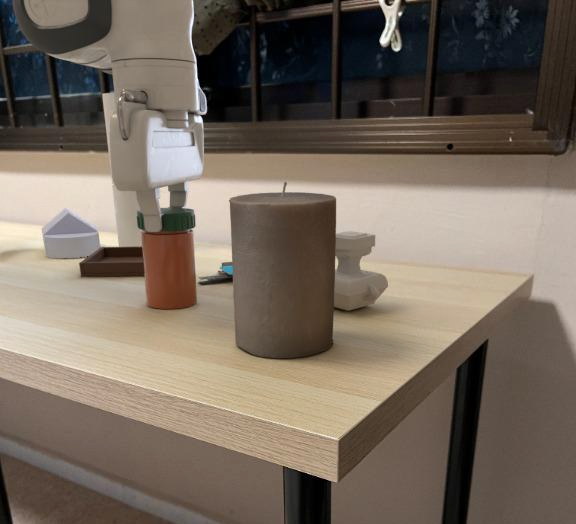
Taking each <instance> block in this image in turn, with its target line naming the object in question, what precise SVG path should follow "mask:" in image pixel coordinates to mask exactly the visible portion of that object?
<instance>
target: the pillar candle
mask: <svg viewBox="0 0 576 524" xmlns="http://www.w3.org/2000/svg"><path fill="white" fill-rule="evenodd" d="M287 185H288V183H287V181H284V182H283V186H282V192H279V191H278V192H259V193H249V194H248V193H247V194H241V195H236V196H232V197H230V198H229V199H228V202H229V216H230V217H229V218H230V238H231V262H232V268H233V282H232V293H233V294H232V295H233V315H234V336H235V337H234V338H235V345H236V346H237V347H238V348H241V349H242V350H244V351H246V352H247V353H249V354H251V355H254V356H257V357H260V358H268V359H294V358H302V357H309V356H312V355H315V354H318V353H321V352H324V351H328V350H329V349H331V348H332V347H333V345H334V337H333V336H334V316H335V315H334V314H335V307H334V287H335V269H336V256H335V249H336V234H337V198H336V196H335V195H331V194H324V193H317V192H301V191H297V192H296V191H294V192H293V191H292V192H291V191H290V192H289V191H288V192H287V191H286V188H287Z"/></svg>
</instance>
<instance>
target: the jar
mask: <svg viewBox="0 0 576 524" xmlns="http://www.w3.org/2000/svg"><path fill="white" fill-rule="evenodd" d="M194 235H195V234H194V230H193V229H189V230H182V231H159V232H148V231H145V230H143V231H141V240H142V252H143V264H144V276H143V277H144V286H145V287H144V288H145V298H146V299H145V300H146V305H147V306H148V307H150V308H154V309H160V310H174V309H184V308H188V307H193V306H194V305H196V304H197V303H198V295H197V293H198V291H197V277H196V276H197V275H196V256H195V254H196V253H195V236H194Z"/></svg>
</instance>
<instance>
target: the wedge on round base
mask: <svg viewBox="0 0 576 524" xmlns="http://www.w3.org/2000/svg"><path fill="white" fill-rule="evenodd" d="M41 234H42V238H43V239H42V240H43V247H44V253H45V257H47V258H50V259H61V258H62V259H63V258H67V259H81V258H80V257H82V258H87V256H90V255H91V254H93V253H94V252H95V251H97V250H98V249H99V248H101V242H100V232H99V230H97V228H96V227H95V225H94V224H92V223H90V222H89V221H87V220H85V219H84V218H82V217H81V216H79V215H78V214H77V213H74V212H73V211H71V210H70V209H68V208H66V207H65V208H63V209H62V210H61V211H60V212H59V213H58V214H57V215H55V216H54V217H53V218H52V219H51V220H49V222H47V223H46V224H45V225H44V226H43V227H42V228H41Z"/></svg>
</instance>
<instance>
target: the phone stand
mask: <svg viewBox="0 0 576 524" xmlns="http://www.w3.org/2000/svg"><path fill="white" fill-rule="evenodd" d="M198 279H200V281H198V283H199V284H201V285H207V284H223V283H224V284H225V283H231V282H232V283H233V268H232V261H225V262H221V265H219V270H217V275H208V276H207V275H206V276H198ZM201 280H203V281H201Z"/></svg>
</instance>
